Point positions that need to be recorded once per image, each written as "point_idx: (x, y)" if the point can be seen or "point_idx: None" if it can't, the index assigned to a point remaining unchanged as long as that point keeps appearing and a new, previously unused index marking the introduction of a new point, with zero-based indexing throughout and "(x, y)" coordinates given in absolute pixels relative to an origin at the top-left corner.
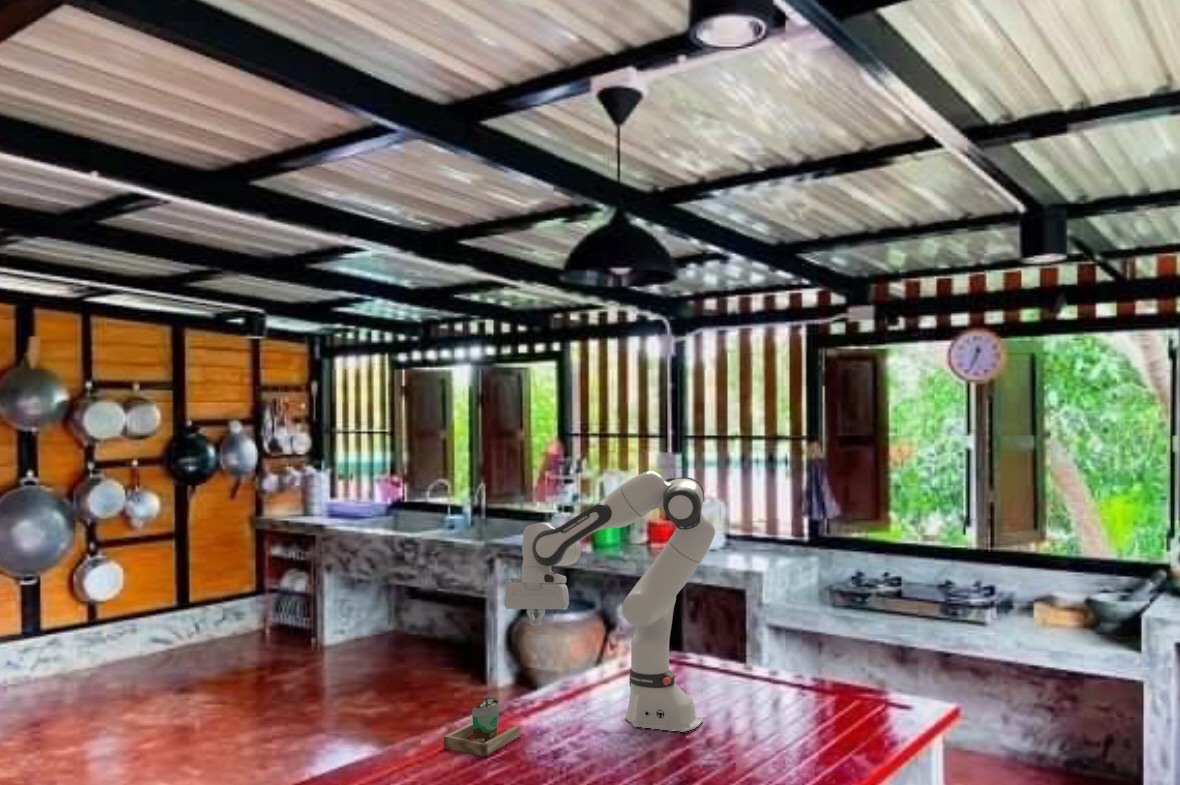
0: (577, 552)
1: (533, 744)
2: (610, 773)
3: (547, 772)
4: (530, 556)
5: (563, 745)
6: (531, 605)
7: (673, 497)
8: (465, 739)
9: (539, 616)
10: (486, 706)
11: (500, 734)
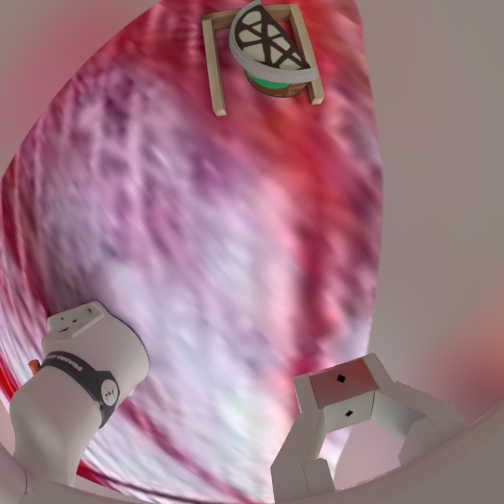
0: None
1: (171, 111)
2: (36, 127)
3: (93, 62)
4: None
5: (126, 147)
6: (431, 487)
7: None
8: None
9: (298, 432)
10: (260, 34)
11: (214, 57)
